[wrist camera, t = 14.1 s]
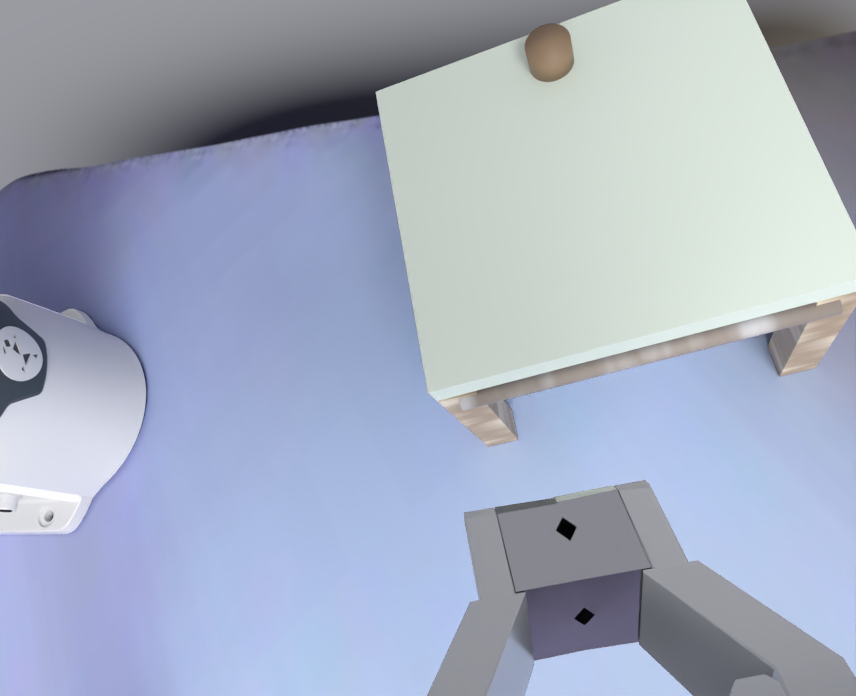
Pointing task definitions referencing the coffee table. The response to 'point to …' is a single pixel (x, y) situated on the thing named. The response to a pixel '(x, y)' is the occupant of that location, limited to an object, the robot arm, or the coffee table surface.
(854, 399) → the coffee table surface
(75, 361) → the robot arm
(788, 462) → the coffee table surface
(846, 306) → the stand
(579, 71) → the lid
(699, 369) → the coffee table surface
